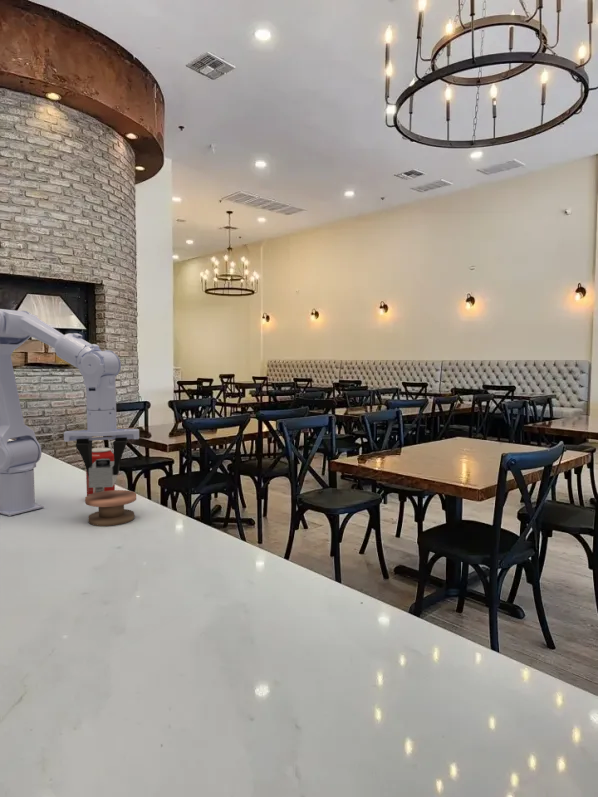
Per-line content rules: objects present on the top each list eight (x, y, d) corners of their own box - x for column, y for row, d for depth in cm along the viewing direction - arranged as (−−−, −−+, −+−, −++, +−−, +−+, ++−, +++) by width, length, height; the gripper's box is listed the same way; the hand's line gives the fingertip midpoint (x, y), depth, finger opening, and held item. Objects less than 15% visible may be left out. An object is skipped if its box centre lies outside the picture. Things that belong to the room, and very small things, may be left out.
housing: (88, 487, 109) (88, 463, 108) (94, 480, 115) (94, 457, 115) (112, 486, 109) (112, 462, 109) (116, 479, 116) (116, 456, 116)
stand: (75, 521, 111) (74, 497, 111) (115, 510, 120) (114, 488, 119) (107, 529, 106) (107, 504, 106) (146, 517, 114) (146, 493, 114)
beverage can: (119, 496, 132) (118, 447, 132) (107, 502, 126) (106, 451, 125) (94, 495, 133) (93, 447, 132) (81, 502, 127) (80, 451, 126)
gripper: (139, 407, 117) (141, 469, 118) (68, 408, 114) (70, 472, 115) (136, 409, 110) (138, 475, 111) (60, 411, 107) (62, 479, 108)
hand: (103, 474), depth 112 cm, fingers closed on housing, 4 cm apart
